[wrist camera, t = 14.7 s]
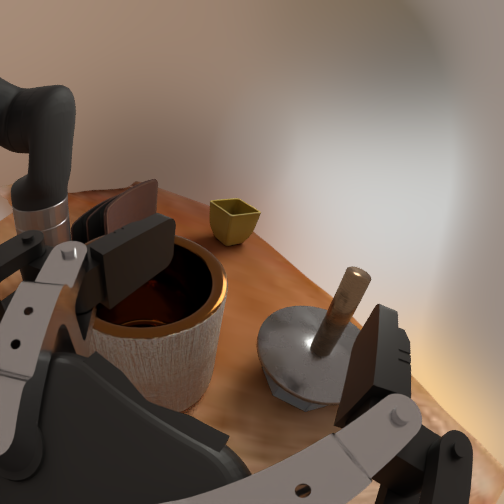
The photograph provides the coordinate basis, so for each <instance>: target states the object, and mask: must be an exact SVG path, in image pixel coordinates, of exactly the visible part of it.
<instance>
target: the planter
mask: <svg viewBox="0 0 504 504" xmlns="http://www.w3.org/2000/svg"><path fill="white" fill-rule="evenodd" d="M104 236H105V235H104ZM101 237H103V236H101ZM101 237H98V238H95V239H93V240H91V241H89V242H87V243H85V244H84V245H88V244H90V243H91V242H93V241H95V240H97V239H99V238H101ZM227 290H228V281H227V276H226V273H225V270H224V268H223V266H222V265H221V263H220V262H219V261H218V259H217V258H216V257H215V256H214V255H213V254H212V253H211V252H209V251H208V250H207V249H205V248H204V247H202V246H201V245H199V244H197V243H195V242H193V241H191V240H188V239H186V238H183V237H180V236H177V235H175V239H174V252H173V257H172V260H171V262H170V264H169V265H168V266H167V267H166V268H165V269H164V270H162V271H161V272H160V273H158V274H157V275H155V276H154V277H153V278H151V279H150V280H149V281H147V282H146V283H145V284H143V285H142V286H141V287H139V288H138V289H137V290H135V291H134V292H133V293H131V294H130V295H129V296H127V297H126V298H125V299H123V300H122V301H121V302H119V303H118V304H117V305H115V306H114V307H113V308H112V309H108V308H107V307H106V306H104V305H103V304H101V303H98V304H97V305H96V309H97V311H96V316H95V321H94V325H93V330H92V335H91V340H90V345H89V356H90V355H92V354H93V353H94V352H95V351H97V352H98V353H99V354H100V355H102V356H103V357H104V358H105V359H107V360H108V361H109V362H110V363H112V364H113V365H114V366H116V367H117V368H118V369H120V370H121V371H122V372H123V373H124V374H125V375H126V377H127V378H128V379H129V380H130V381H131V383H132V384H133V385H134V386H135V387H136V389H137V390H138V391H139V392H140V393H141V394H142V395H143V397H144V398H145V399H146V400H148V401H149V402H151V403H154V404H157V405H159V406H162V407H165V408H168V409H171V410H174V411H177V412H182V411H184V410H186V409H188V408H189V407H191V406H192V405H193V404H194V403H196V402H197V401H198V400H199V399H200V398H201V396H202V395H203V394H204V392H205V391H206V389H207V387H208V385H209V383H210V380H211V377H212V373H213V369H214V363H215V357H216V351H217V345H218V339H219V333H220V327H221V322H222V317H223V311H224V306H225V301H226V296H227Z"/></svg>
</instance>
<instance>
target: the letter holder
mask: <svg viewBox="0 0 504 504" xmlns="http://www.w3.org/2000/svg"><path fill="white" fill-rule="evenodd" d="M157 191H158V182H157V180H156V179H152V180H148V181H145V182H142V183H140V184H137V185H135V186H133V187H131V188H129V189H128V190H126V191H125V192H123V193H121V194H119V195H116V196H114V197H112V198H109V199H107V200H105V201H103V202H101V203H100V204H98V205H96V206H95V207H93V208H91V209H90V210H89V211H87V212H86V213H84V214H83V215H82V216H81V217H80V218H78V219H77V220H76V221H75V222H74V223H73V225H72V227H71V237H72V241H77V242H81V243H83V244H85V243H87V242H89V241H91V240H93V239H95V238H98V237H101V236H104V235H107V234H109V233H111V232H112V233H113V232H114V231H115V230H117V229H119V228H120V229H121V227H123V226H125V225H127V224H129V223H131V222H136V221H140V220H143V219H145V218H147V217H149V216H151V215H153V214H155V213H156V208H157Z"/></svg>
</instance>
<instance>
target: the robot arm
mask: <svg viewBox="0 0 504 504" xmlns="http://www.w3.org/2000/svg"><path fill="white" fill-rule="evenodd" d="M75 115H76V110H75V100H74V96H73V94H72V92H71V91H70V89H69V88H67V87H65V86H63V85H52V86H43V87H36V88H30V89H26V88H20V87H17V86H15V85H13V84H10V83H9V82H7V81H5V80H3V79H2V78H0V146H2V147H3V148H5V149H7V150H9V151H12V152H16V153H29V168H28V174H27V175H25V176H24V177H22V178H20V179H18V180H17V181H16V182H15V183H14V184H13V185H12V188H11V200H12V208H13V215H14V221H15V227H16V232H17V236H15V237H13V238H11V239H10V240H8V241H6V242H4V243H2V244H1V245H0V282H1V281H3V280H4V279H5V278H7V277H8V276H10V275H11V274H13V273H14V272H16V271H18V270H19V269H20V272H21V275H22V279H23V281H22V282H21V283H20V285H19V286H18V288H17V290H16V291H14V292H13V293H12V294H10V295H9V296H8V297H6V298H5V299H3V300H2V301H1V300H0V504H346V503H347V502H349V501H350V500H351V499H353V498H354V497H355V496H356V495H358V494H359V493H360V492H362V491H363V490H364V489H365V488H366V487H367V486H368V485H369V484H370V483H371V482H372V479H373V480H375V481H376V482H378V483H380V484H381V485H380V488H379V491H378V495H377V498H376V501H375V504H469V497H470V489H471V479H472V463H473V449H472V445H471V443H470V440H469V439H468V437H467V436H466V435H465V434H464V433H462V432H460V431H457V430H452V431H449V432H447V433H446V434H444V435H443V436H442V437H440V436H439V435H437V434H436V433H434V432H432V431H431V430H429V429H428V428H426V427H425V426H423V425H422V416H421V412H420V410H419V408H418V406H417V405H416V403H415V402H414V401H413V400H412V399H411V365H410V363H411V358H410V357H411V356H410V341H409V339H408V337H407V335H406V332H405V330H403V329H401V328H398V314H397V311H395V310H393V309H390V308H388V307H385V306H383V305H381V304H377V305H376V306H375V308H374V309H373V311H372V313H371V315H370V317H369V318H368V319H367V321H366V323H365V324H364V326H363V328H362V329H361V331H360V332H359V334H358V336H357V338H356V340H355V342H354V344H353V347H352V350H351V355H350V360H349V365H348V370H347V374H346V379H345V383H344V388H343V392H342V396H341V400H340V404H339V408H338V411H337V415H336V419H335V422H334V426H337V427H340V428H343V429H341V430H340V431H338V432H337V433H335V434H334V433H332V434H330V435H328V436H326V437H324V438H323V439H321V440H319V441H317V442H316V443H314V444H312V445H311V446H309V447H307V448H305V449H304V450H302V451H300V452H298V453H296V454H294V455H293V456H291V457H289V458H287V459H285V460H283V461H281V462H279V463H277V464H275V465H273V466H271V467H268V468H266V469H264V470H262V471H260V472H258V473H255V474H253V475H252V474H251V473H250V471H249V469H248V468H247V466H246V465H245V464H244V462H243V461H242V460H241V458H240V457H239V456H238V455H237V454H236V453H235V452H234V451H233V450H231V449H230V448H229V447H228V446H227V445H226V443H227V441H228V439H229V436H228V435H226V434H224V433H222V432H220V431H218V430H216V429H214V428H212V427H210V426H209V425H207V424H205V423H203V422H201V421H199V420H197V419H196V418H194V417H192V416H189V415H186V414H183V413H180V412H177V411H174V410H171V409H168V408H165V407H162V406H159V405H157V404H154V403H151V402H149V401H148V400H146V399H145V398H144V397H143V395H142V394H141V393H140V392H139V391H138V390H137V389H136V387H135V386H134V385H133V384H132V383H131V381H130V380H129V379H128V378H127V377H126V375H125V374H124V373H123V372H122V371H121V370H120V369H118V368H117V367H116V366H114V365H113V364H112V363H110V362H109V361H108V360H107V359H105V358H104V357H103V356H102V355H100V354H99V353H98V352H97V351H95V352H94V353H93V354H92V355H90V356H89V345H90V340H91V335H92V330H93V325H94V321H95V316H96V311H97V309H96V305H97V304H98V303H101V304H103V305H104V306H106V307H107V308H108V309H112V308H113V307H114V306H115V305H117V304H118V303H119V302H121V301H122V300H123V299H125V298H126V297H127V296H129V295H130V294H131V293H133V292H134V291H135V290H137V289H138V288H139V287H141V286H142V285H143V284H145V283H146V282H147V281H149V280H150V279H151V278H153V277H154V276H155V275H157V274H158V273H160V272H161V271H162V270H164V269H165V268H166V267H167V266H168V265H169V264H170V262H171V260H172V257H173V252H174V239H175V227H176V224H175V221H174V219H172V218H169V217H167V216H164V215H162V214H159V213H155V214H153V215H151V216H149V217H147V218H145V219H143V220H140V221H136V222H131V223H129V224H127V225H125V226H123V227H121V229H120V228H119V229H117V230H115V231H114V232H113V233H112V232H111V233H109V234H107V235H105V236H103V237H101V238H99V239H97V240H95V241H93V242H91V243H90V244H88V245H84V244H83V243H81V242H77V241H71V232H70V222H69V211H68V192H67V186H68V180H69V176H70V171H71V159H72V145H73V136H74V127H75Z"/></svg>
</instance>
